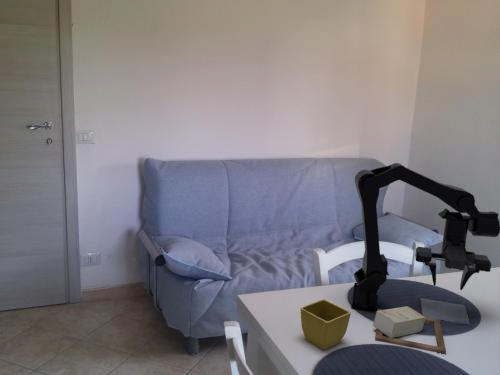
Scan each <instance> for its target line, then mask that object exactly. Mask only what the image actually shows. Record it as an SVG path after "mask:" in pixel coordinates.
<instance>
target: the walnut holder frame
mask: <svg viewBox="0 0 500 375" xmlns="http://www.w3.org/2000/svg"><path fill="white" fill-rule="evenodd" d="M380 310H383V309H381V308H377V311H380ZM424 323H426V324H425V325H429V324H433V325H432V326H433V329H435V330H434V335H435V336H434V337H435V341H436V345H432V344H427V343H421V342H417V341H411V340H405V339H402V338H401V339H400V338H397V337H394V338H390V337H389V336H387V335H386V336H385V335H383V332H381V331H380V330H378V329H377V328H375V336H374V338H375V339H374V340H375V341H377V342H381V343H385V344H391V345H396V346H402V347H408V348H413V349H417V350H423V351H428V352H434V353H436V354H439V353H441V354H440V355H444V354H445V355H446V352H447V350H446V345H445V344H446V343H445V339H444V334H443V330H442V326H441V325H442V324H441V321H440V320H439V319H434V318H428V317H425V322H424Z"/></svg>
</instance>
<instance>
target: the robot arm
mask: <svg viewBox="0 0 500 375" xmlns="http://www.w3.org/2000/svg"><path fill="white" fill-rule="evenodd" d="M397 181H401V182H402V183H405V184H407V185H409V186H413V187H414V188H416V189H418V190H421V191H423V192H425V193H427V194H430V195H432V196H433V197H436V198H438V199H439V200H441V201H442V202H443V203H445V204H446V205H448V206H449V207H451V208H452V209H453V210H455V211H450V210H449V209H448V208H444V209H443V210H442V211H440V212H438V213H437V215H438V216H439V217H440V218H441V219H443V220H445V223H444V230H443V236H442V237H443V238H442V245H441V252H434V251H432V248H431V247H424V246H422V247H421V246H417V247H416V248H415V252H414V257H415V262H418V263H422V264H423V263H424V265H425V266H428V267H429V271H430V273H431V277H432V278H431V279H432V282H433V283H432V284H433V286H434V287H436V286H437V285H436V284H437V263H436V261H444V267H445V268H447V269H449V270H450V269H455V270H459V271H462V274H461V278H460V284H459V289H460V291H462V290H463V289H464V288H465V287H466V284H467V283H468V281H469V279H470V278H471V277H472V276H473V275H475V274H479V273H480V272H486V273H489V272H491V268H492V262H491V259H490V258H489V257H488V256H487V255H485V254H484V255H483V254H477V253H475V252H474V251H467V248H466V245H467V238H468V237H467V236H468V232H469V233H470V234H471V235H472V236H473V237H487V238H497V237H498V236H499V235H500V219H499V213H497V212H495V211H479V209H478V207H477V206H476V199H475V196H474V194H472V193H471V192H469V191H468V190H465V189H463V188H462V187H458V186H454V185H452V184H445V183H442V182H438V181H436V180H434V179H432V178H429V177H427V176H425V175H423V174H421V173H418V172H416V171H415V170H413V169H410V168H408V167H406V166H404V165H403V164H401V163H399V162H393V163H392V164H389V165H386V166H382V167H381V166H380V167H377V168H374V169H362V170H360V171H358V172H357V173H356V174H355V176H354V185H355V187H356V191H357V194H358V198H359V201H360V204H361V217H362V218H361V219H362V230H363V241H364V252H363V258H362V264H361V266H362V267H361V268H359V269H358V270H356V271H355V272H354V273H353V276H354V280H355V282H354V285H353V292H352V302H351V307H350V309H352V310H355V311H362V312H368V313H376V310H377V309H378V301H379V291H378V290H380V287H381V286H383V285H384V283H386V281H387V279H388V277H387V276H390V274H389V272H388V268H389V264H388V263H389V261H388V259H387V258H386V256H385V255H384V253H381V250H380V248H381V247H380V237H379V236H380V235H379V222H378V221H379V220H378V211H377V210H378V209H377V208H378V207H377V205H378V199H379V197H380V189H382V188H384V187H387V186H389V185H391V184H392V183H395V182H397ZM463 214H467V215H463Z"/></svg>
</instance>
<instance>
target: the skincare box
mask: <svg viewBox="0 0 500 375" xmlns="http://www.w3.org/2000/svg"><path fill="white" fill-rule="evenodd" d="M424 322H425V317H424V316H423V315H422V313H420V312H418V311H416V310H415V309H413V308H411V307H410V306H406V305H405V306H401V307H393V308H388V309H382V310H380V311H378V310H377V311H375V316H374V319H373V323H372V326H373V327H374V328H375V329H376V328H377V329H378V330H380V331H381V332H382V334H384V335H386V337H390V338H398V337H402V336H403V337H404V336H408V335H412V334H418V333H420V332H422V331H423V328H424V325H425V324H424Z"/></svg>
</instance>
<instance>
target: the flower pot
mask: <svg viewBox="0 0 500 375" xmlns="http://www.w3.org/2000/svg"><path fill="white" fill-rule="evenodd" d="M351 314H352V312H351V311H349V310H347V309H345V308H343V307H342V306H339V305H338V304H335V303H333V302H331V301H329V300H327V299H320V300H317V301H314V302H312V303H309V304H307V305H304V306H302V307H300V319H301V320H300V321H301V330H302V332H303V335H304V337H305V339H306V341H307V342H309V343H312V344H313V345H315V346H316V347H318V348H320V349H322V350H327V349H329V348H331V347H333V346H336V345H338V344H339V343H341V341H342V340H343V338H344V336H345V335H346V333H347V329H348V326H349V322H350V318H351Z"/></svg>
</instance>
